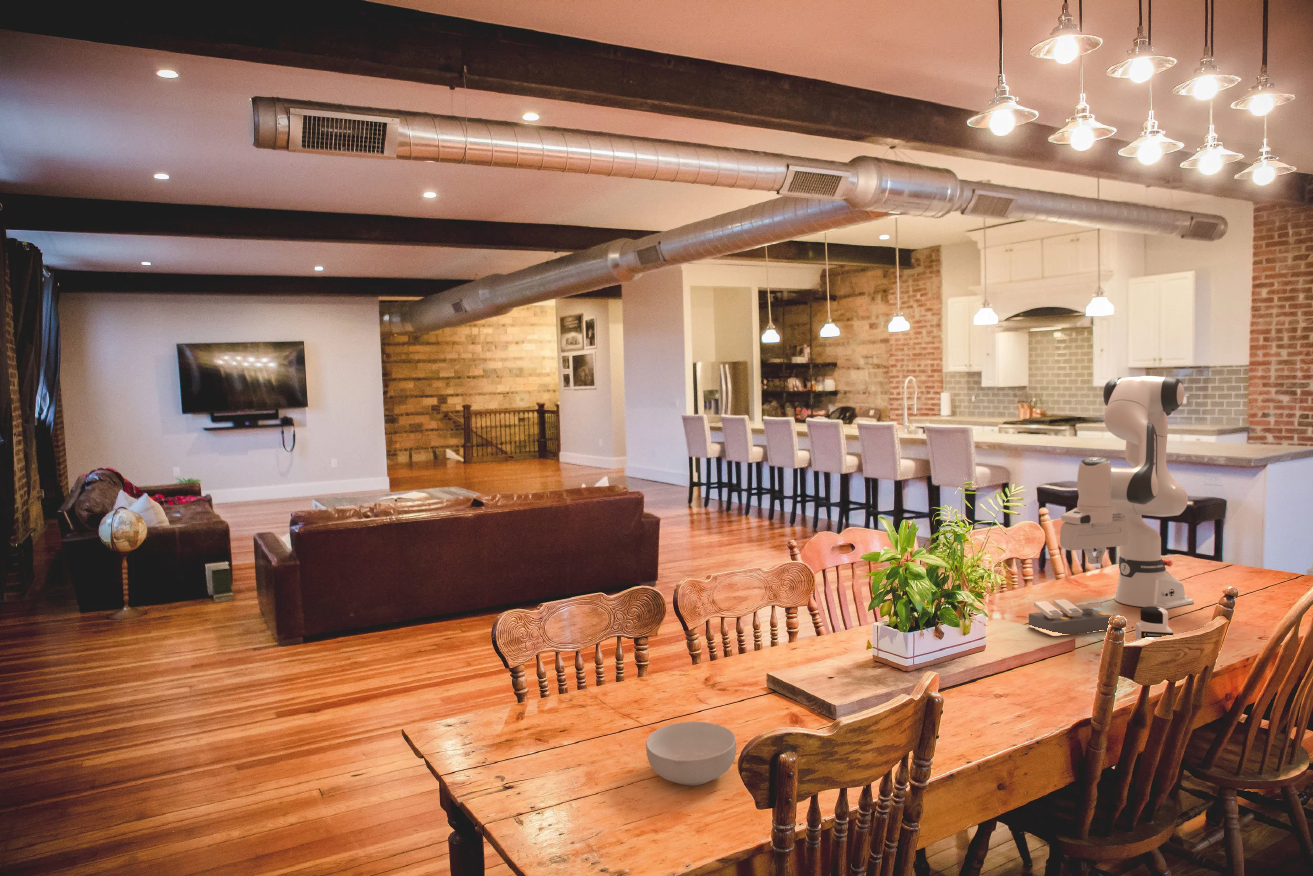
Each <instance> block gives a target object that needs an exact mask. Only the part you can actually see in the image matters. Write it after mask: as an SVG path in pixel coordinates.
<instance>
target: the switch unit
mask: <svg viewBox="0 0 1313 876" xmlns="http://www.w3.org/2000/svg"><path fill="white" fill-rule="evenodd" d="M1058 610H1059V611H1060V612H1061V613H1063V616H1062V617H1061V618H1052V619H1050V618H1048V617H1047V616H1046V615H1044V614H1043V613H1042V612H1041V611H1039V612H1032V613H1028V626H1029V625H1032V626H1034V627H1038V628H1042V629H1046V630H1049V631H1052V632H1058V633H1062V634H1076V635H1080V634H1079V633H1085V634H1088V633H1087V632H1093V631H1099V630H1105V631H1104V632H1107V631H1106V630H1107V628H1108V625H1109V623H1108V621H1109V618H1110V617H1111V616H1113V615H1112V614H1109V613H1107V612H1104V611H1099V610H1096V609H1093V608H1080V610H1081V611H1083V613H1082V615H1080V616H1068V615H1067V614H1066V613H1064V612H1063V611H1062V610H1060V609H1058ZM1093 633H1094V632H1093Z"/></svg>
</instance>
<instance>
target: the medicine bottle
mask: <svg viewBox="0 0 1313 876" xmlns="http://www.w3.org/2000/svg"><path fill="white" fill-rule="evenodd" d="M1139 617H1140V622H1138V621H1137V622H1135V641H1136V640H1137V639H1141V638H1145V637H1162V636H1166V635H1173V636H1174V631H1173V630H1172V629H1171V628H1170V627H1169V611H1167V609H1163V608H1160V607H1153V606H1147V607H1141V608H1140V616H1139Z"/></svg>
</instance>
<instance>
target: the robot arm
mask: <svg viewBox="0 0 1313 876" xmlns="http://www.w3.org/2000/svg"><path fill="white" fill-rule="evenodd" d="M1102 395H1103V396H1102V399H1103V403H1104V405H1105V406H1106V409H1105V413H1104V418H1103V419H1104V424H1105V428H1106V429H1107V430H1108V431H1109V432H1110V433H1111V434H1112V435H1114V436H1115V437H1116V438H1118V439H1120V440H1124V441H1125V450H1124V459H1125V462H1127V463H1128V465H1130V467H1113V466H1112V465H1111V461H1110V459H1108V458H1107V457H1103V456H1092V457H1091V456H1090V457H1086V458H1083V459H1081V460H1080V462H1079V465H1078V470H1077V481H1076V484H1077V485H1076V490H1077V493H1078V499H1077V503H1076V507H1075V508H1073V509H1071V510H1069V511H1066V512H1064V513H1063V514H1061V516H1060V518H1061V520H1060V521H1062V522H1063V523H1061V525H1060V530H1059V531H1060V532H1059V535H1060V536H1059V545H1060V547H1062V549H1063V550H1066V551H1079V550H1083V552H1084V554H1085V556H1086V557H1087V563H1088V565H1089V564H1090V565H1096V564H1097V565H1098V564H1102V562H1103V556H1104V555H1105V553H1106V548H1115V547H1120V556H1119V557H1118V569H1119V576H1118V580H1117V581H1118V582H1117V587H1116V588H1117V589H1116V592H1115V597H1114V601H1116V602H1117V603H1120V604H1124V605H1127V606H1134V607H1141V608H1143V607H1147V606H1153V607H1160V608H1163V609H1165V610H1167V609H1171V608H1177V607H1181V606H1186V605H1191V604H1194V603H1195V602H1194V599H1193V598H1191V597H1189V596H1186V595H1185V594H1186V593H1185V587H1184V584H1183V583H1182V582H1181V580H1179V579H1178V578H1176V577H1175V576H1173V575H1172V574H1171V573H1170V572H1168V571H1167V568H1166V566H1167V567H1169V568H1170V567H1172V565H1174V564H1173V563H1174V562H1173V561H1172V560H1171V559H1167V558H1166V559H1164V560H1163V558H1162V537H1161V535H1160V533H1159V532H1158V531H1157V530H1156V529H1155V528H1153V527H1151V525H1148V524H1147V523H1146V522H1145V521H1144V519H1143V517H1142V516H1149V517H1151V516H1152V517H1162V518H1163V517H1174V516H1180V515H1181V514H1182V513H1183V512H1184V511H1185V510H1186V509H1187V506H1188V502H1189V498H1188V494H1187V492H1186V490H1185V488H1184V487H1183V486H1182V485H1181V484H1179V483H1178V482H1177V481H1176V480H1175V479H1174V478H1173V477H1172V475H1171V473H1170V471H1169V469H1168V465H1167V443H1168V431H1169V429H1168V428H1169V427H1168V416H1169V417H1170V415H1171V414H1172V412H1175V411H1177V410H1178V409H1179V408H1180V407H1181V405H1182V404H1183V401H1184V398H1185V396H1186V395H1185V387H1184V384H1183V382H1182V381H1181V379H1180V378H1178V377H1174V376H1156V375H1142V376H1131V377H1130V376H1128V377H1114V378H1111V379H1109V380H1108V381H1107V382H1106V383H1105V385H1104V387H1103V391H1102ZM1095 550H1096V553H1095ZM1093 553H1095V556H1094V554H1093Z"/></svg>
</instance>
